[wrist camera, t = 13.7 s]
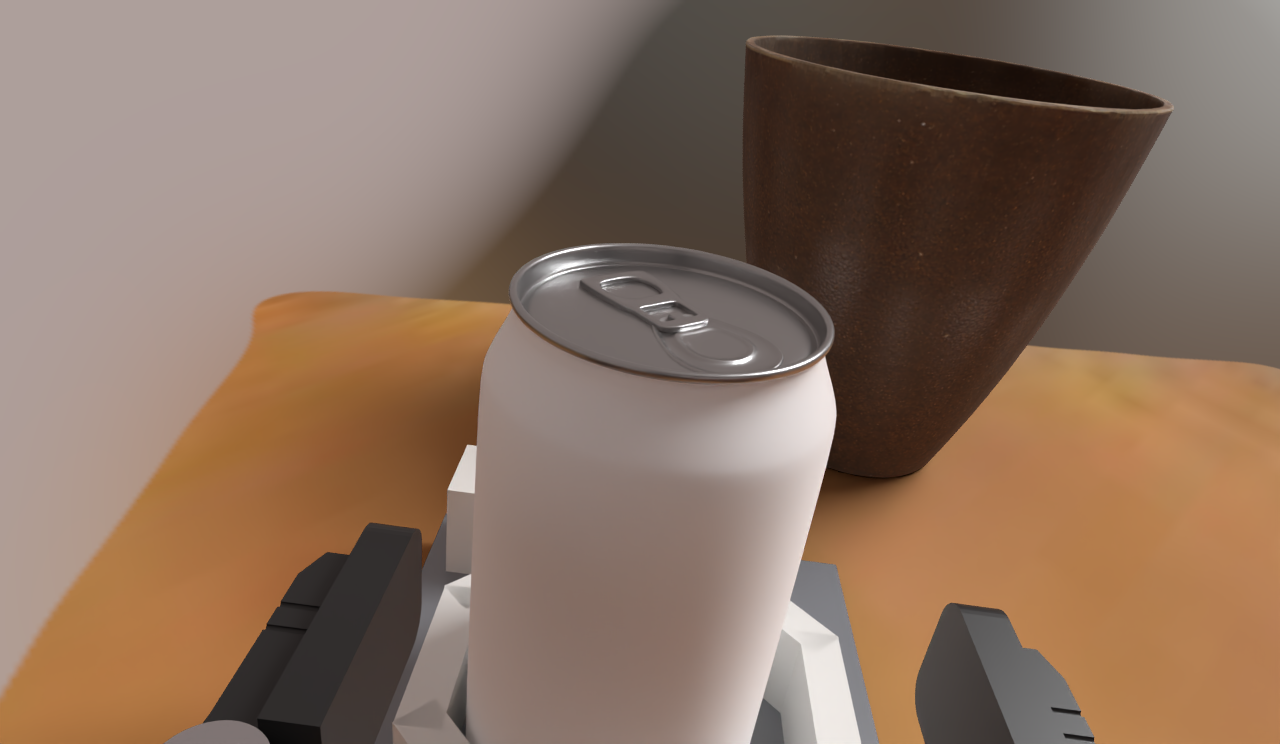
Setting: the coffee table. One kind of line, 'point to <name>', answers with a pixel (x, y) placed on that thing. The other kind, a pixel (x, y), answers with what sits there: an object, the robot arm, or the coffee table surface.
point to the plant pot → (927, 217)
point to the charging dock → (794, 695)
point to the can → (641, 495)
